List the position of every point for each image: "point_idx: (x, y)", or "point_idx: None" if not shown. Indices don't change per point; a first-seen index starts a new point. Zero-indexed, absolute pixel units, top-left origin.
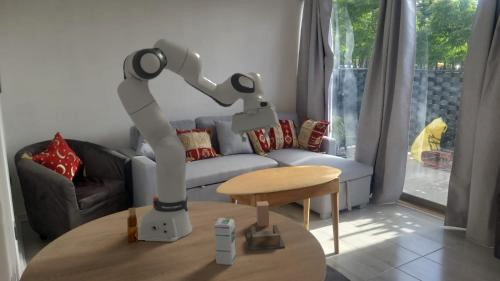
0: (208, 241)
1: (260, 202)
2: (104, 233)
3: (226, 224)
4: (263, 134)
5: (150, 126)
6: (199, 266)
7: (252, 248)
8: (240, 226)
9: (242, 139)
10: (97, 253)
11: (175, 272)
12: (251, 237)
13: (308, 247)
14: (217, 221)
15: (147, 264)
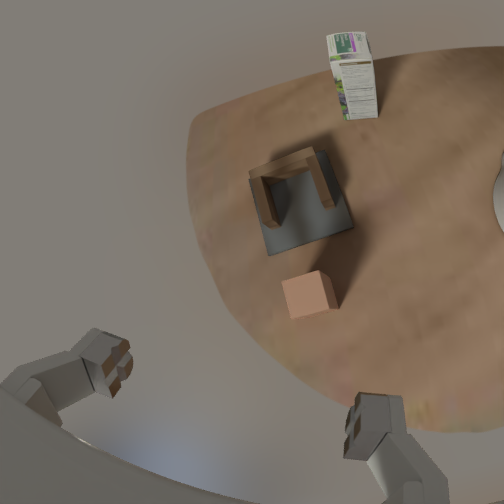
0: (433, 168)
1: (313, 303)
2: None
3: (335, 35)
4: (100, 351)
5: None
6: (399, 79)
7: (317, 152)
8: (380, 268)
9: (391, 406)
10: None
11: (428, 60)
12: (329, 190)
13: (204, 196)
14: (365, 43)
15: (487, 74)
